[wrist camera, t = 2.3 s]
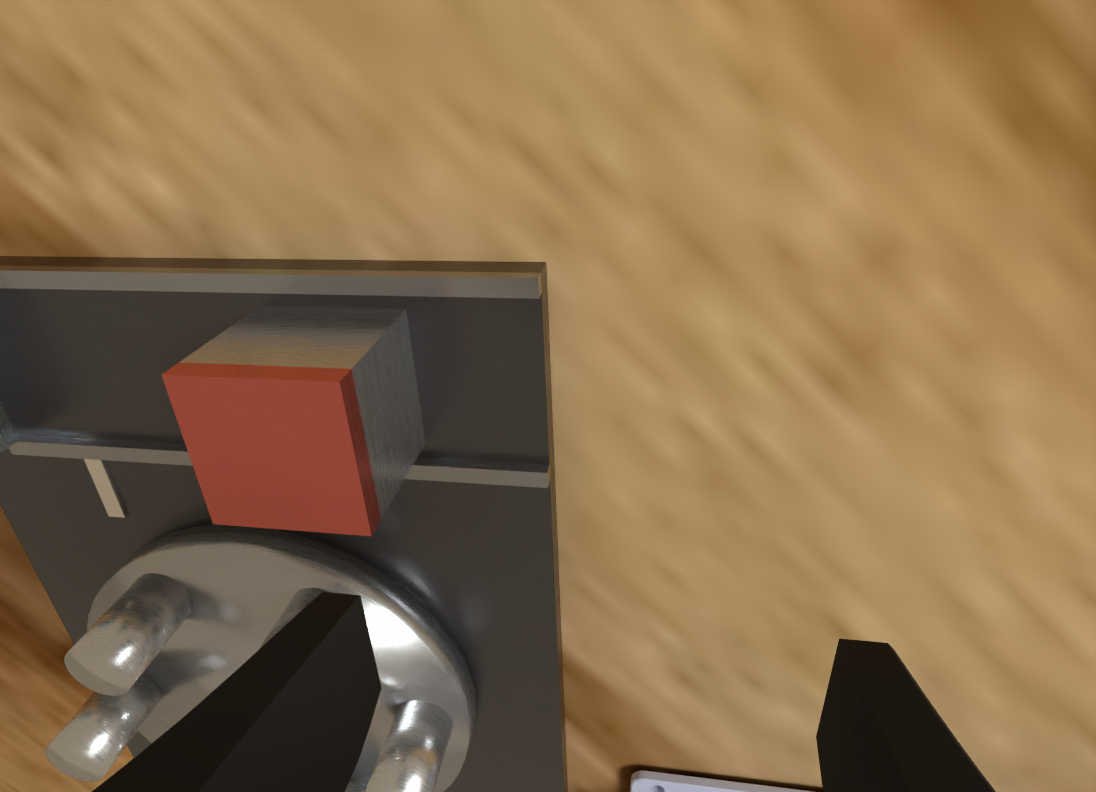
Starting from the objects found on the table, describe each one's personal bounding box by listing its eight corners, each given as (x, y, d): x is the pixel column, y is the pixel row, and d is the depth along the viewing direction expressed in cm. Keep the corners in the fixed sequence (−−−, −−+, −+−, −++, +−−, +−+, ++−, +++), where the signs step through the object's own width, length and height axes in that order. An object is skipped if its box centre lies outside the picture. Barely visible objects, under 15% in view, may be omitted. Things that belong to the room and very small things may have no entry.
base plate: (545, 262, 17) (519, 313, 14) (568, 808, 28) (556, 901, 25) (-99, 255, 20) (-233, 296, 17) (151, 751, 31) (96, 829, 28)
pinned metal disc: (455, 540, 21) (410, 651, 17) (491, 810, 27) (464, 931, 24) (52, 510, 23) (-64, 602, 19) (177, 767, 30) (108, 872, 26)
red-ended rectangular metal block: (405, 308, 17) (339, 382, 14) (425, 442, 19) (371, 536, 16) (259, 305, 18) (161, 374, 14) (293, 435, 20) (213, 524, 16)
